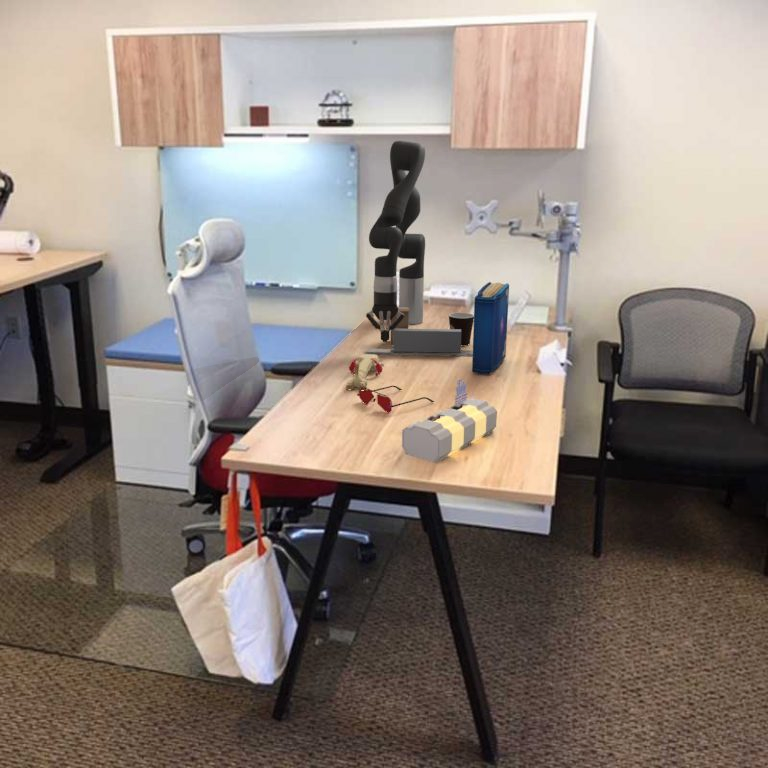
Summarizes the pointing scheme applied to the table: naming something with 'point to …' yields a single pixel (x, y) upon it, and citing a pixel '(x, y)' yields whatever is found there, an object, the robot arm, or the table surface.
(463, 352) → the rail
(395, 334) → the panel
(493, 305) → the book
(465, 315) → the coffee mug
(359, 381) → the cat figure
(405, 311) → the walnut block
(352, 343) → the table surface
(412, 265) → the robot arm
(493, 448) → the table surface
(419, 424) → the grey yellow banded box
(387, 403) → the glasses
